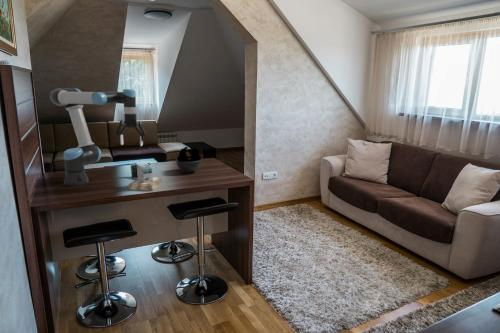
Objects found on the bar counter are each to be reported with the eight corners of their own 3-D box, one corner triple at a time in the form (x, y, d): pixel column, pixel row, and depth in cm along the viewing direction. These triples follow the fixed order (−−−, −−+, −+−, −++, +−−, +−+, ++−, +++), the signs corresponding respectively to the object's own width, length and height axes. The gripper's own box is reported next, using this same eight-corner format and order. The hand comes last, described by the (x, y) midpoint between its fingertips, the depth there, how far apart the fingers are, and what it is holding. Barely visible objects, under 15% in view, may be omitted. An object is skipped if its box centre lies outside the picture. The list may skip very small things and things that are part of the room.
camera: (131, 180, 242) (130, 166, 239) (131, 176, 252) (130, 163, 249) (152, 178, 246) (151, 165, 244) (151, 174, 256) (150, 162, 254)
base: (128, 189, 220) (128, 183, 219) (139, 182, 238) (139, 176, 237) (152, 190, 219) (152, 184, 218) (161, 182, 236) (161, 177, 235)
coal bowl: (199, 175, 257) (199, 150, 252) (173, 174, 257) (172, 150, 252) (203, 168, 276) (203, 146, 272) (179, 168, 276) (178, 145, 272)
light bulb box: (153, 181, 225) (152, 165, 223) (143, 183, 221) (142, 167, 219) (146, 177, 233) (145, 162, 231) (137, 179, 229) (136, 164, 227)
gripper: (109, 112, 220) (111, 145, 225) (146, 114, 218) (147, 147, 223) (114, 111, 227) (116, 143, 233) (150, 113, 225) (151, 145, 231)
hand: (131, 145), depth 228 cm, fingers open, 13 cm apart
